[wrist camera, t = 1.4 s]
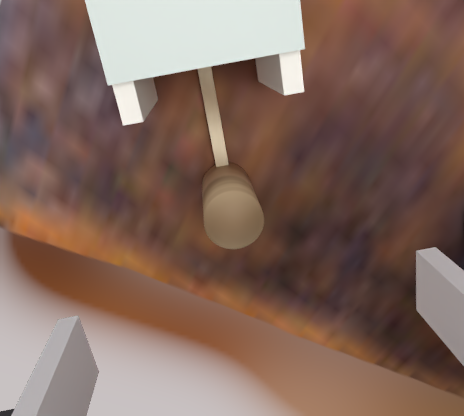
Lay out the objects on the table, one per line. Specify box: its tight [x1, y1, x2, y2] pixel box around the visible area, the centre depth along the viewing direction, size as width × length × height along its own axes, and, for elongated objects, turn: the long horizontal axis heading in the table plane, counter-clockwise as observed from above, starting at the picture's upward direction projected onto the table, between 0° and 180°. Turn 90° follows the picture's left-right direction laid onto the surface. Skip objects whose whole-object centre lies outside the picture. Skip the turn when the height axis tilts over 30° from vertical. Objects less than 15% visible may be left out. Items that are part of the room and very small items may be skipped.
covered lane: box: [85, 0, 305, 125], centre depth 22 cm, size 10×9×10 cm
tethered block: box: [198, 66, 264, 249], centre depth 26 cm, size 17×5×7 cm, turn 10°
